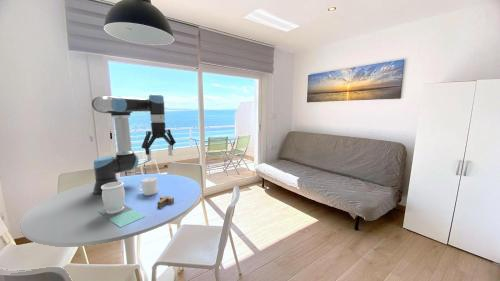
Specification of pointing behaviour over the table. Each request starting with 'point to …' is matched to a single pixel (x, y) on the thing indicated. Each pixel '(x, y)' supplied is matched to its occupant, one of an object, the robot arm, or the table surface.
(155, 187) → the mug
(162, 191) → the table surface
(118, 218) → the mat
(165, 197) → the t block
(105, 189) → the jar
